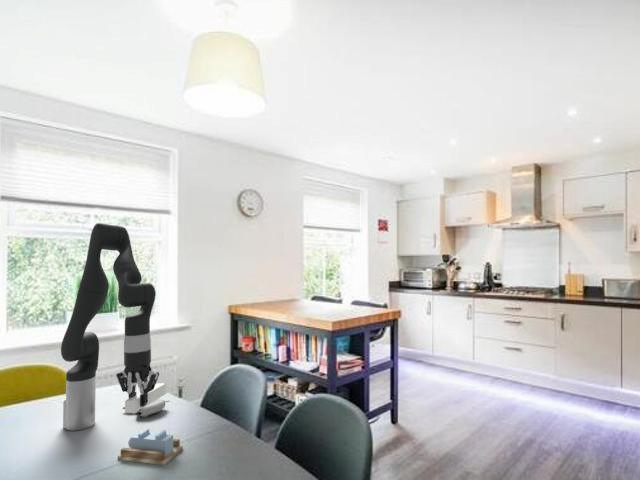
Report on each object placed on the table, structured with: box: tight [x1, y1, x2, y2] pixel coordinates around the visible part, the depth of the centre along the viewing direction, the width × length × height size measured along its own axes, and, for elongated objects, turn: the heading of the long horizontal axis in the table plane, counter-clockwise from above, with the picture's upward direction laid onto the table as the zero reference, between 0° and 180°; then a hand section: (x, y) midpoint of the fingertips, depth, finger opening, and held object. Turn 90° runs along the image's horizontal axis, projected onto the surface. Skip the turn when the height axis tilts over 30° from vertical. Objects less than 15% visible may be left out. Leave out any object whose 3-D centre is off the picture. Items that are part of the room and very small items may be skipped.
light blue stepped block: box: [127, 428, 174, 456], centre depth 121 cm, size 14×4×6 cm, turn 78°
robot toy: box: [122, 398, 170, 418], centre depth 153 cm, size 12×4×15 cm
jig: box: [117, 438, 184, 466], centre depth 121 cm, size 16×10×3 cm, turn 78°
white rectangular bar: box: [124, 382, 167, 414], centre depth 123 cm, size 3×16×4 cm, turn 169°
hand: (138, 405), depth 119 cm, fingers closed on white rectangular bar, 3 cm apart
